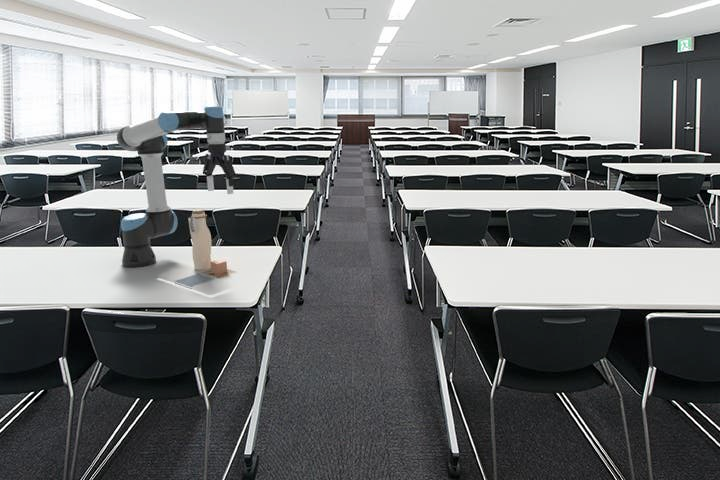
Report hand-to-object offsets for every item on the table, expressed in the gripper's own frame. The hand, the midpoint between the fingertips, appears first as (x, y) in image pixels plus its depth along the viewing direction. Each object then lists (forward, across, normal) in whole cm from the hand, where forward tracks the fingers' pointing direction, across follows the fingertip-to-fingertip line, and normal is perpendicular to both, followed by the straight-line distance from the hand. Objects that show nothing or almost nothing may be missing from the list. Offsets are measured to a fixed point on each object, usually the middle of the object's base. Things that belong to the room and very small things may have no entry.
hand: (220, 192), depth 228 cm
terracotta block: (+36, 0, -4) cm, 36 cm away
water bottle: (+37, -12, -4) cm, 39 cm away
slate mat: (+37, 0, -17) cm, 41 cm away
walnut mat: (+37, 0, -4) cm, 37 cm away
